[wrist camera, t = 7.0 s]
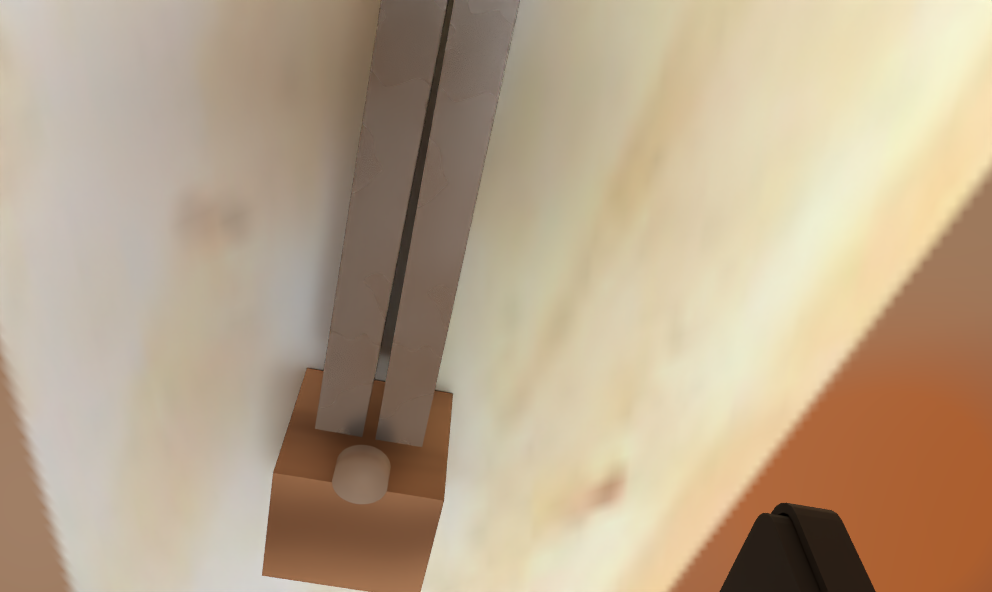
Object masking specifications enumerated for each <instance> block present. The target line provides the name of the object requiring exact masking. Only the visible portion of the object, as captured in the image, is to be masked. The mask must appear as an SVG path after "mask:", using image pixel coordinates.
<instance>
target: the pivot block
mask: <svg viewBox="0 0 992 592" xmlns="http://www.w3.org/2000/svg"><path fill="white" fill-rule="evenodd" d="M323 373H324V371H321V370H315V369H309V368H307V370H306V373H305V376H304V379H303V382H302V385H301V388H300V391H299V394H298V398H297V401H296V404H295V407H294V410H293V413H292V416H291V419H290V422H289V425H288V429H287V432H286V435H285V438H284V441H283V444H282V447H281V450H280V453H279V456H278V460H277V463H276V466H275V469H274V472H273V479H272V489H271V498H270V507H269V516H268V526H267V535H266V544H265V553H264V563H263V572H262V576H269V577H275V578H282V579H289V580H295V581H302V582H309V583H315V584H322V585H329V586H335V587H342V588H349V589H355V590H362V591H368V592H421V588H422V584H423V580H424V576H425V572H426V568H427V564H428V561H429V557H430V553H431V549H432V545H433V541H434V537H435V533H436V529H437V526H438V522H439V518H440V514H441V510H442V506H443V502H444V494H445V482H446V470H447V458H448V446H449V434H450V422H451V410H452V398H453V394H451V393H446V392H440V391H434V395H433V400H432V405H431V409H430V414H429V418H428V423H427V427H426V432H425V437H424V441H423V446H422V447H418V446H412V445H406V444H400V443H394V442H388V441H381V440H375V439H376V433H377V427H378V422H379V416H380V411H381V405H382V400H383V394H384V388H385V383H386V382H383V381H378V380H374V383H373V388H372V393H371V398H370V402H369V407H368V412H367V417H366V422H365V426H364V431H363V436H362V437H358V436H352V435H347V434H341V433H336V432H330V431H325V430H319V429H315V424H316V418H317V411H318V405H319V398H320V392H321V385H322V379H323Z"/></svg>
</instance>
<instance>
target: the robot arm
mask: <svg viewBox="0 0 992 592" xmlns="http://www.w3.org/2000/svg"><path fill="white" fill-rule="evenodd" d="M720 592H875V590H874V587H873V585H872V583H871V581H870V579H869V577H868V575H867V573H866V570H865V568H864V566H863V564H862V562H861V560H860V558H859V555H858V554H857V551H856V549H855V547H854V545H853V543H852V541H851V539H850V536H849V534H848V532H847V530H846V528H845V526H844V524H843V522H842V520H841V519H840V517H839V516H838V514H837V513H835V512H834V511H832V510H826V509H821V508H814V507H808V506H802V505H796V504H790V503H780V504H779V505H777V506H776V507H775V508H774V510H773V511H772V513H771V514H769V513H762V514H761V515H759V516H758V518H757V519H756V521H755V523H754V525H753V527H752V529H751V531H750V533H749V535H748V537H747V539H746V540H745V543H744V545H743V546H742V548H741V550H740V552H739V554H738V556H737V558H736V560H735V562H734V564H733V566H732V568H731V570H730V572H729V574H728V576H727V578H726V580H725V582H724V584H723V586H722V588H721V590H720Z"/></svg>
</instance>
